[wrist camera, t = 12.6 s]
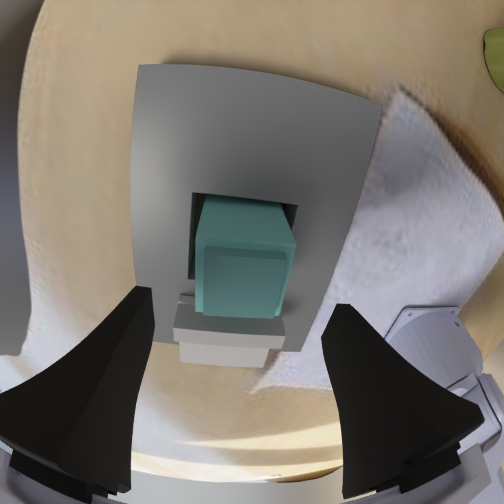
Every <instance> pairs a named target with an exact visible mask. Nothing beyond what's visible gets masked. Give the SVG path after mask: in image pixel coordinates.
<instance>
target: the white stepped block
mask: <svg viewBox="0 0 504 504" xmlns="http://www.w3.org/2000/svg"><path fill="white" fill-rule="evenodd" d="M281 311H282V308H281V310H280V314H279V316H274V319H269V318H242V317H223V316H208V315H203V312H195V297H194V296H184V295H179V299H178V306H177V311H176V316H175V321H174V326H173V333H174V341H177V342H179V344H180V362H186V363H196V364H207V365H219V366H235V367H258V368H263V366H264V363H265V360H266V357H267V354H268V351H269V349H281V348H282V345H283V343H284V340H285V337H286V334H285V329H284V324H283V319H282V314H281Z"/></svg>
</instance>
